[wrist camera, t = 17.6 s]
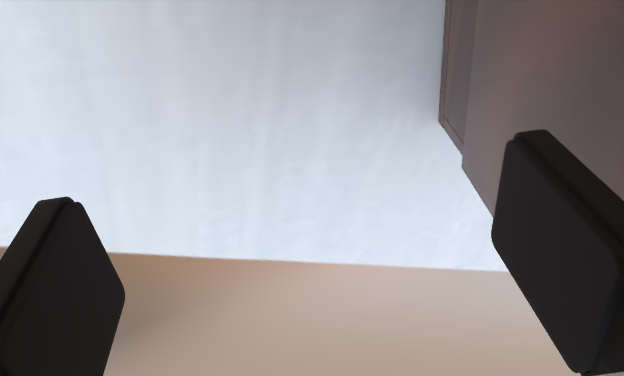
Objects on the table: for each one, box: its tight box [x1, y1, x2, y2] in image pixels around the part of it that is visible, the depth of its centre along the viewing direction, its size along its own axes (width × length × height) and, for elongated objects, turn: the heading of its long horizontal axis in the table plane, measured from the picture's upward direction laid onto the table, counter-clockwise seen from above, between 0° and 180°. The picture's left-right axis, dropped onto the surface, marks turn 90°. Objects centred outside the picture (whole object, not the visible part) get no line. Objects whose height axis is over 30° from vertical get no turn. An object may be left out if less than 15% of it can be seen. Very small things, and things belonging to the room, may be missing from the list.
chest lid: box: [462, 0, 624, 218], centre depth 12 cm, size 17×14×1 cm
